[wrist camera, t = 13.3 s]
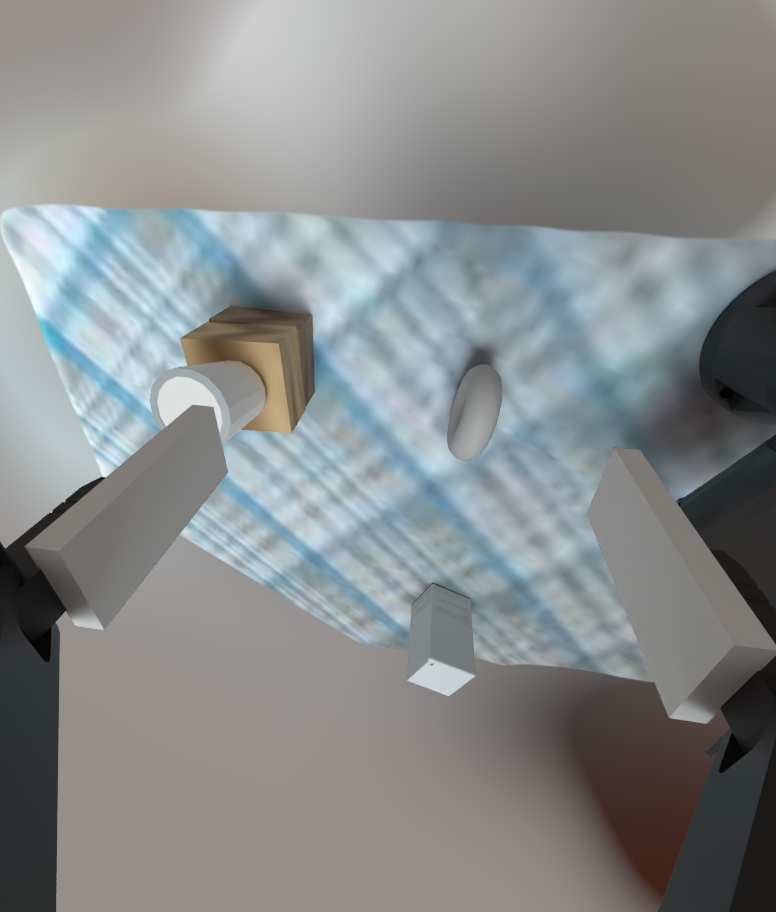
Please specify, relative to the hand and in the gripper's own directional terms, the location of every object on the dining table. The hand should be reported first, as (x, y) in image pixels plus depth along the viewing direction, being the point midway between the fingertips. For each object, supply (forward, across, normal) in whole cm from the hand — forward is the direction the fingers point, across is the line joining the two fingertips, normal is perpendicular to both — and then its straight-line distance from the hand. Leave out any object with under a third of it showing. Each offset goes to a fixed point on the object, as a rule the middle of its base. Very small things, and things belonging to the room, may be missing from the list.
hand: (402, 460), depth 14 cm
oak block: (+27, -17, -9) cm, 33 cm away
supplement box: (+33, +6, -50) cm, 60 cm away
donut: (+32, +5, -12) cm, 35 cm away
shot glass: (+21, -17, -9) cm, 29 cm away
